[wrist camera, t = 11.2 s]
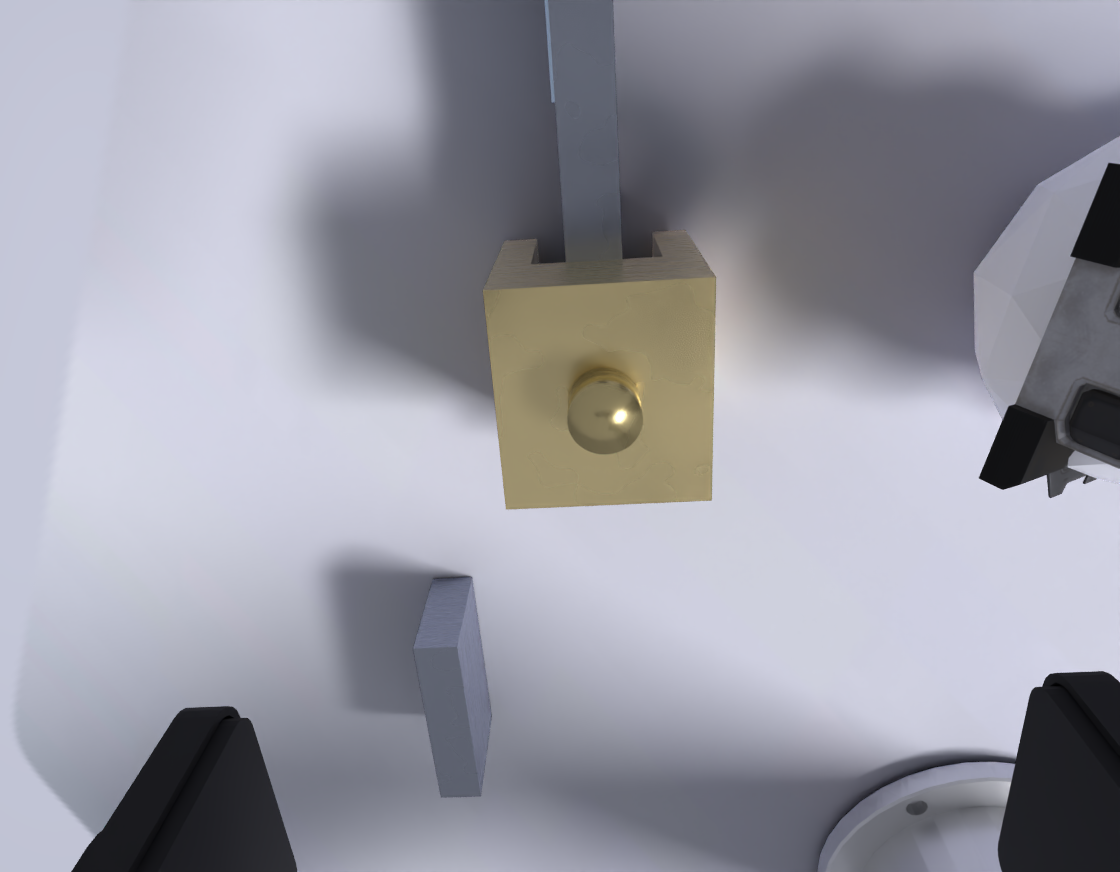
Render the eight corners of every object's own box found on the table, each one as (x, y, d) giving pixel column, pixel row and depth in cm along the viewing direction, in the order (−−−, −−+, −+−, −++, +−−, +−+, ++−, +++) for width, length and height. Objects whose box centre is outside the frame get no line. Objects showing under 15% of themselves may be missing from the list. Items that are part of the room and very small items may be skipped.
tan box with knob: (685, 229, 24) (724, 290, 17) (684, 411, 26) (718, 524, 20) (504, 240, 24) (476, 304, 18) (521, 419, 27) (502, 533, 20)
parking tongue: (472, 577, 30) (457, 646, 26) (491, 716, 33) (480, 796, 29) (433, 578, 30) (413, 648, 27) (456, 717, 33) (440, 797, 29)
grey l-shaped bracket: (647, -264, 19) (695, -504, 11) (660, 436, 27) (695, 591, 19) (485, -248, 20) (418, -473, 11) (545, 442, 28) (531, 598, 19)
